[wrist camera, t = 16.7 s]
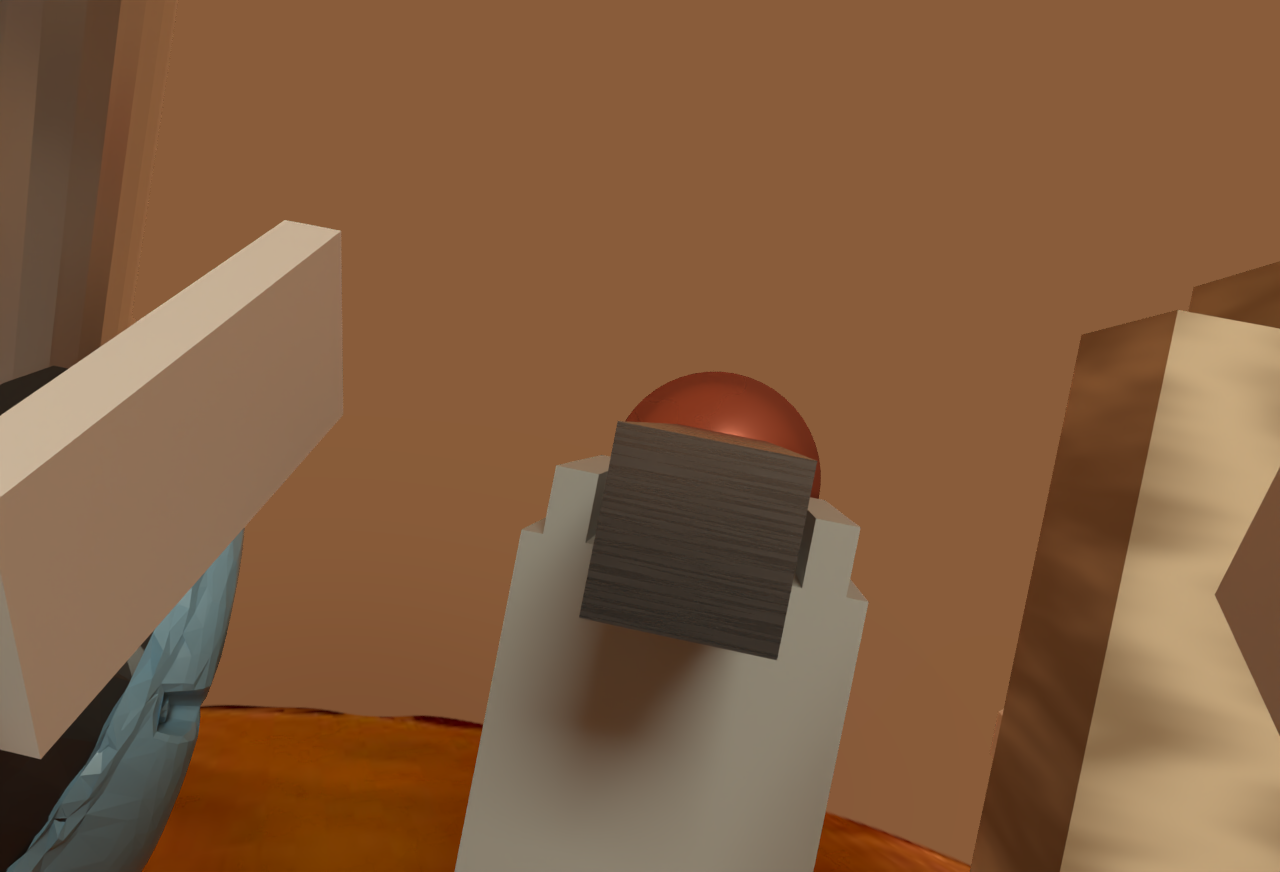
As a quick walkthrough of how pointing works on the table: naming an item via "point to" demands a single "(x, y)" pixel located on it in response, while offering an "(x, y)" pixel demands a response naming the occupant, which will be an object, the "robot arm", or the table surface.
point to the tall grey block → (657, 718)
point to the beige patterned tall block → (1147, 608)
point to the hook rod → (704, 515)
